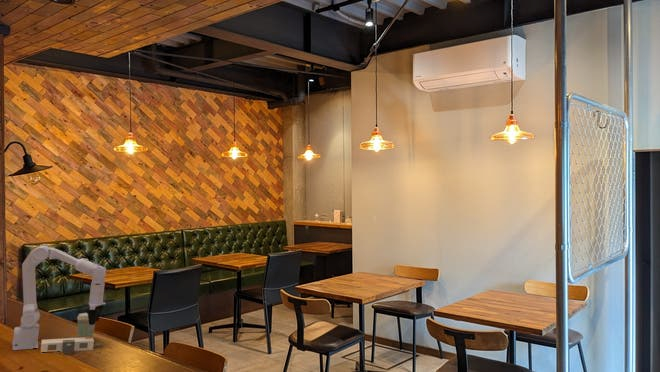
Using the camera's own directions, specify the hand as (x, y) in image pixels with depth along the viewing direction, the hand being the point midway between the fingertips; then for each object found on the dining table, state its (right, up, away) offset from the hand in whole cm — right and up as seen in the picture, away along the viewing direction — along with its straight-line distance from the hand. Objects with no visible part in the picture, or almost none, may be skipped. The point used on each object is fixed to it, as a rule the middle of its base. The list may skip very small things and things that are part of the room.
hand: (93, 322), depth 225 cm
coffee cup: (-7, -10, +7) cm, 14 cm away
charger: (-4, -9, -15) cm, 18 cm away
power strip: (-5, -9, -9) cm, 14 cm away
